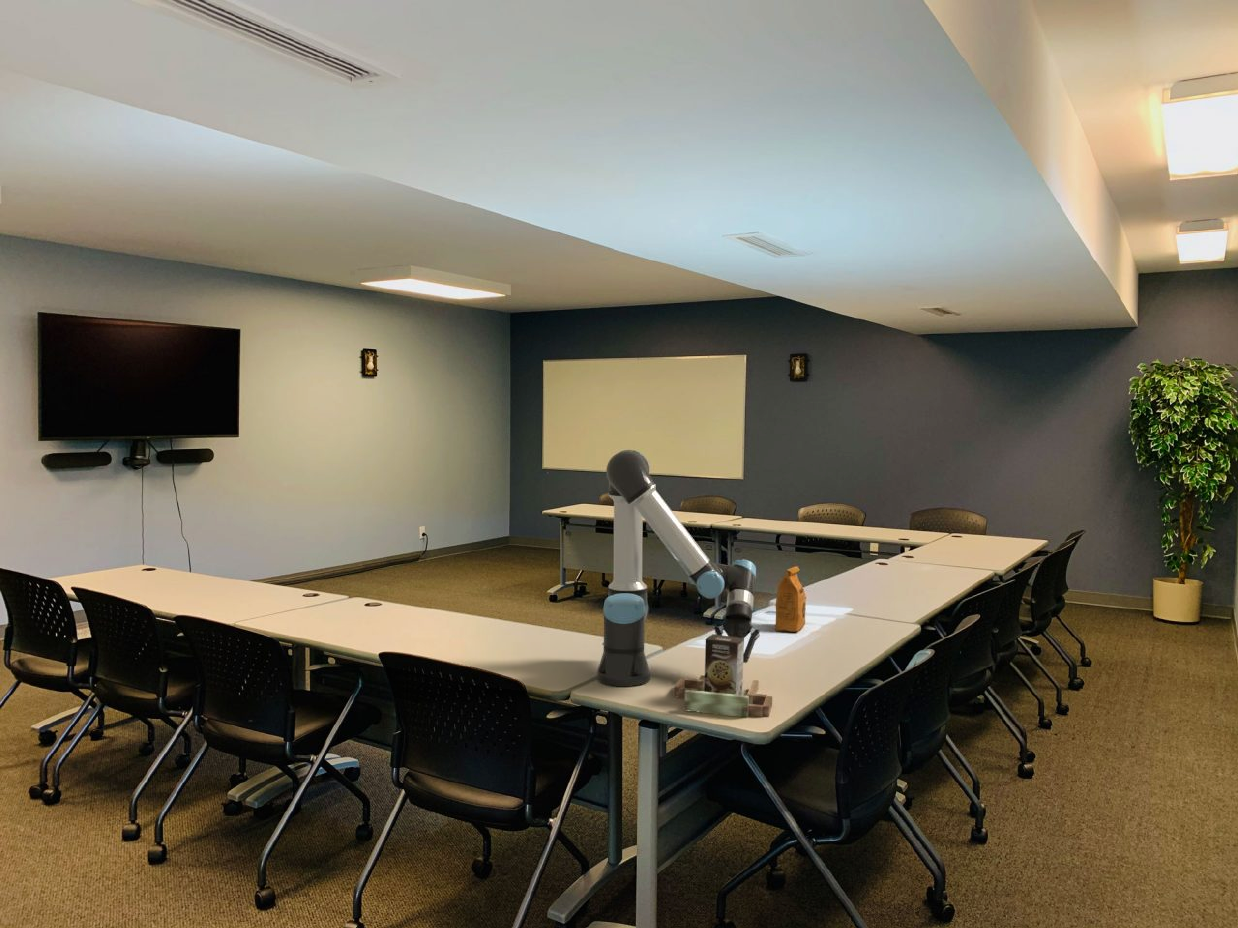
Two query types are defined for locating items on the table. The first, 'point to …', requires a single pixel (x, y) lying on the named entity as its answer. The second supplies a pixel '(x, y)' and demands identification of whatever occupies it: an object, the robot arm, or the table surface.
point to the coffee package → (790, 603)
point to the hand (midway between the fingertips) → (731, 683)
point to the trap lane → (722, 699)
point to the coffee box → (724, 664)
